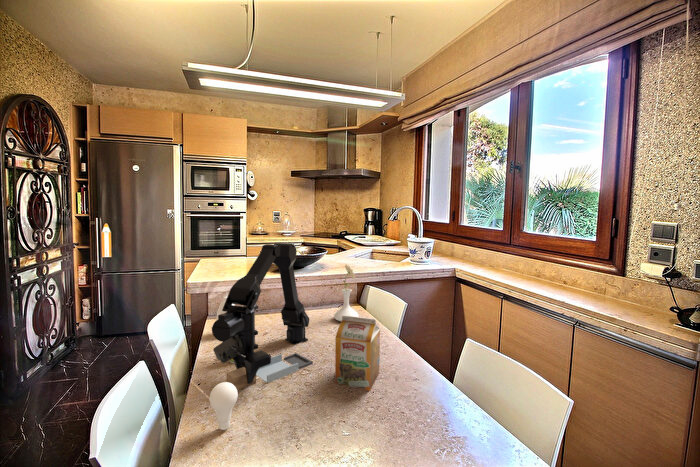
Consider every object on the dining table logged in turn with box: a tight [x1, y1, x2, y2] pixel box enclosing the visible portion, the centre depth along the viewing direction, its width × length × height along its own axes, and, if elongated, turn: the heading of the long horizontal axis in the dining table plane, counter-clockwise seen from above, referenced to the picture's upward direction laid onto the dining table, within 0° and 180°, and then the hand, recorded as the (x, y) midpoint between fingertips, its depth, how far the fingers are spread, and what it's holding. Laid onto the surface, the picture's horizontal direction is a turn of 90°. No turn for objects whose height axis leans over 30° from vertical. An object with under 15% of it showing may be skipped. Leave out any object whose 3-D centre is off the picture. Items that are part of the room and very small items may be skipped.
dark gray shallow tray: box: [283, 352, 314, 370], centre depth 113 cm, size 5×9×1 cm, turn 46°
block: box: [225, 367, 257, 391], centre depth 98 cm, size 7×4×4 cm, turn 130°
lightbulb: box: [208, 381, 239, 431], centre depth 79 cm, size 6×6×11 cm
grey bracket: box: [256, 353, 299, 384], centre depth 106 cm, size 11×10×2 cm
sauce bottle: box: [215, 290, 236, 321], centre depth 135 cm, size 8×8×18 cm
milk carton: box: [334, 315, 381, 392], centre depth 102 cm, size 11×11×19 cm
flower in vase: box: [333, 264, 360, 322], centre depth 154 cm, size 13×11×25 cm
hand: (245, 380), depth 99 cm, fingers closed on block, 5 cm apart
